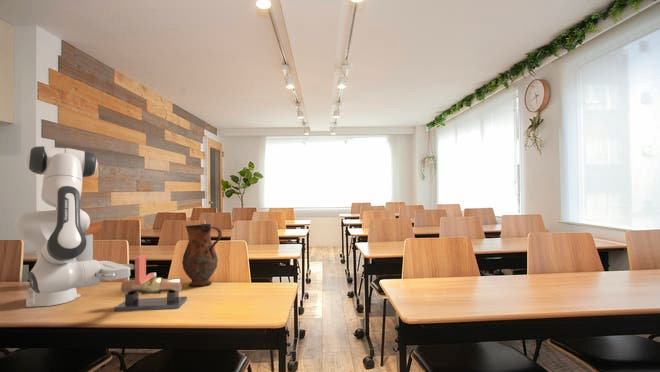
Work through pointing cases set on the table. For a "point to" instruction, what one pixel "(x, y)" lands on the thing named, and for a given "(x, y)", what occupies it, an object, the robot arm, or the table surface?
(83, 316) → the table surface
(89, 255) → the cylinder vase
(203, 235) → the pitcher
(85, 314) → the table surface
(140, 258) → the valve lever
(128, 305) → the valve
